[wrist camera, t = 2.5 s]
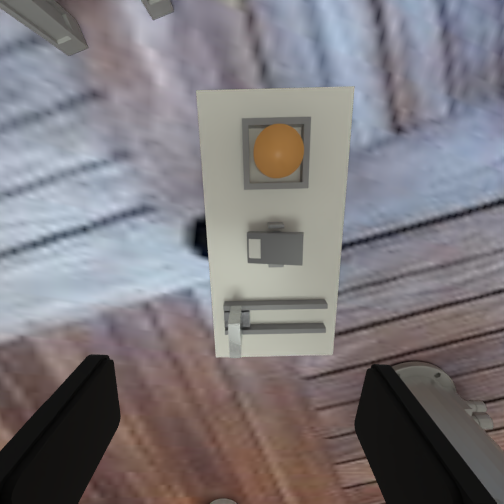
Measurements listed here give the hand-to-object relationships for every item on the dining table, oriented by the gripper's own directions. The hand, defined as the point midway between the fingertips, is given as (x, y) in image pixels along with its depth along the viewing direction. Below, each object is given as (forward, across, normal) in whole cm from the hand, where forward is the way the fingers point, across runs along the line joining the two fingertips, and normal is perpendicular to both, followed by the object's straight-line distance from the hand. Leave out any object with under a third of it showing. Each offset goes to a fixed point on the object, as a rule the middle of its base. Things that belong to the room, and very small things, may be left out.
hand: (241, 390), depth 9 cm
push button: (+18, -2, -10) cm, 20 cm away
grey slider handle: (+19, 0, +8) cm, 21 cm away
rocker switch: (+17, -3, -1) cm, 18 cm away
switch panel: (+21, -3, -1) cm, 21 cm away
